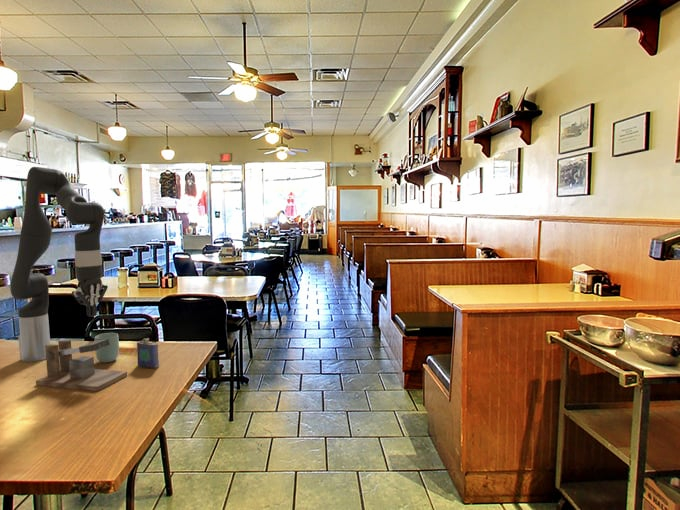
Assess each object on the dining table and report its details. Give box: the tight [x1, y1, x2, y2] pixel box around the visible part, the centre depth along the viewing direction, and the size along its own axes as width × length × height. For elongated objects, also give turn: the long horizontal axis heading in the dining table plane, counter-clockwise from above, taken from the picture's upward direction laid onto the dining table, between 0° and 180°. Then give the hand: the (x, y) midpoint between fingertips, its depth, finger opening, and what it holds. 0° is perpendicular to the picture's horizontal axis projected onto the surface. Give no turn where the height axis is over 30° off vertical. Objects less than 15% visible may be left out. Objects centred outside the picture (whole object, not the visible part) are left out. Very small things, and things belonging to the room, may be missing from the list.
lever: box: [59, 339, 110, 356], centre depth 141 cm, size 19×6×2 cm, turn 77°
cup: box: [94, 332, 120, 364], centre depth 160 cm, size 8×8×10 cm
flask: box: [136, 337, 160, 369], centre depth 154 cm, size 9×3×11 cm, turn 68°
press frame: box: [35, 339, 128, 392], centre depth 141 cm, size 24×13×12 cm, turn 77°
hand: (92, 316), depth 138 cm, fingers closed
